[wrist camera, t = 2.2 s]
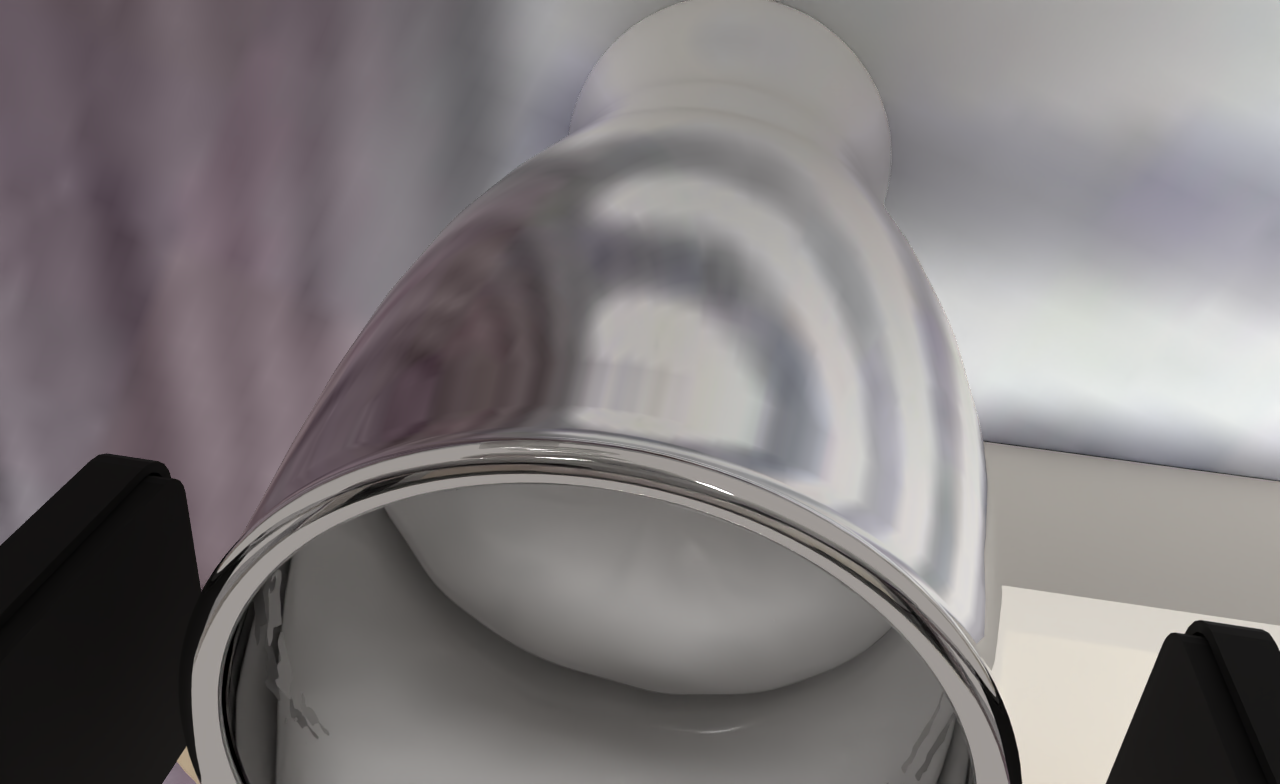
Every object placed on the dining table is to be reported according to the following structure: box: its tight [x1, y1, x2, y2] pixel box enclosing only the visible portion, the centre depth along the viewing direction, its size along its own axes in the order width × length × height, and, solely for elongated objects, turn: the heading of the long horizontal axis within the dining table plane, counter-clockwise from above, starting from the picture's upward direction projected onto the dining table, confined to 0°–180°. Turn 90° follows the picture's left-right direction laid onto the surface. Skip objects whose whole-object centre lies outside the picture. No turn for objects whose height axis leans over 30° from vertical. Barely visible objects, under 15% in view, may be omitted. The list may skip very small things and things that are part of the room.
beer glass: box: [178, 0, 1022, 784], centre depth 15 cm, size 7×7×15 cm
